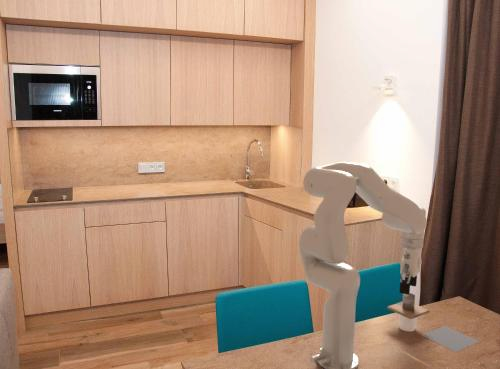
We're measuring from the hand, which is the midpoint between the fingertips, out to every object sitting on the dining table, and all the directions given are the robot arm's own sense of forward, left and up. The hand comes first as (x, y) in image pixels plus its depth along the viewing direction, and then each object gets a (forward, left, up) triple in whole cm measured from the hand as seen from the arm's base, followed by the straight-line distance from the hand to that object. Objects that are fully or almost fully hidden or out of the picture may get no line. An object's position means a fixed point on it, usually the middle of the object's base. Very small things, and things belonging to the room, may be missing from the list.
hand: (407, 289), depth 159 cm
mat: (+7, -13, -15) cm, 21 cm away
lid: (+1, 0, -8) cm, 8 cm away
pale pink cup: (+1, 0, -15) cm, 15 cm away
